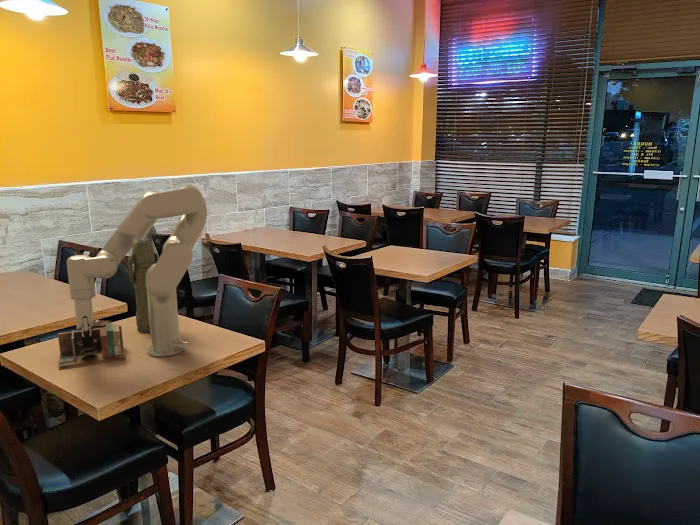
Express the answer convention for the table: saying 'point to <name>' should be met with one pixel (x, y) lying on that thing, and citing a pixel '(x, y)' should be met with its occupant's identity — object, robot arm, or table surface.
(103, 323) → the box
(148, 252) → the robed figure statue
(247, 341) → the table surface
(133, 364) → the table surface
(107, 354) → the shelf
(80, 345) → the dark grey chess piece
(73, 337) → the bookend
